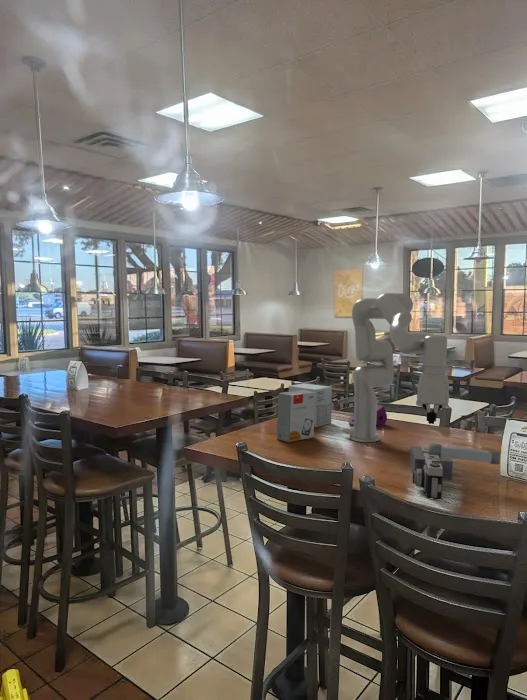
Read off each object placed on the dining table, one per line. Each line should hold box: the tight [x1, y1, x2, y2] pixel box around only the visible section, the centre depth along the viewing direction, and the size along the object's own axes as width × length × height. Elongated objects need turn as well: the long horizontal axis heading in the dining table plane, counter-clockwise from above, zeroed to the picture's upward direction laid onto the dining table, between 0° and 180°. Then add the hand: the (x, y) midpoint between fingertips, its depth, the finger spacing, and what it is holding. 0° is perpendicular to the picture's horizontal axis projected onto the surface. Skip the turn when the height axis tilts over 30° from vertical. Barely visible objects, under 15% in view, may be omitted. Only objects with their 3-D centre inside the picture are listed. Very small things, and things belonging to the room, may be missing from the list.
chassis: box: [409, 445, 454, 480], centre depth 173 cm, size 12×19×8 cm, turn 169°
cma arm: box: [428, 442, 501, 465], centre depth 161 cm, size 4×21×4 cm, turn 67°
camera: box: [412, 454, 443, 500], centre depth 155 cm, size 14×8×10 cm, turn 166°
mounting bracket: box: [347, 404, 388, 428], centre depth 241 cm, size 9×8×18 cm
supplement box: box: [288, 383, 333, 428], centre depth 243 cm, size 17×13×18 cm
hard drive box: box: [276, 390, 315, 443], centre depth 214 cm, size 16×8×20 cm, turn 131°
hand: (431, 423), depth 174 cm, fingers closed
